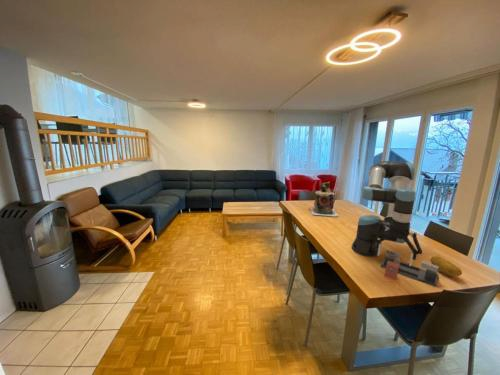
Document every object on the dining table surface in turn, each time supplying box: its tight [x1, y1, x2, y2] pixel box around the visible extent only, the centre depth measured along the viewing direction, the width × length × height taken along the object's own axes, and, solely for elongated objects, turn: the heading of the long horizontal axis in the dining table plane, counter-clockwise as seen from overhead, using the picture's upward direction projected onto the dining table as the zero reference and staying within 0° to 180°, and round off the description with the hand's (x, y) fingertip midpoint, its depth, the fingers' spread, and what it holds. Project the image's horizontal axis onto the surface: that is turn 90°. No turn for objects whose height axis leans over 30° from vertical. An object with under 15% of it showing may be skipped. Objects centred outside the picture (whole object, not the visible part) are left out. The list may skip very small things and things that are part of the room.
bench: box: [379, 249, 439, 288], centre depth 112 cm, size 24×12×8 cm, turn 46°
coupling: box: [384, 261, 399, 281], centre depth 108 cm, size 8×5×7 cm, turn 136°
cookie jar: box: [309, 181, 339, 218], centre depth 206 cm, size 25×25×32 cm
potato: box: [430, 255, 463, 277], centre depth 112 cm, size 7×14×7 cm, turn 3°
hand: (393, 259), depth 106 cm, fingers open, 13 cm apart
